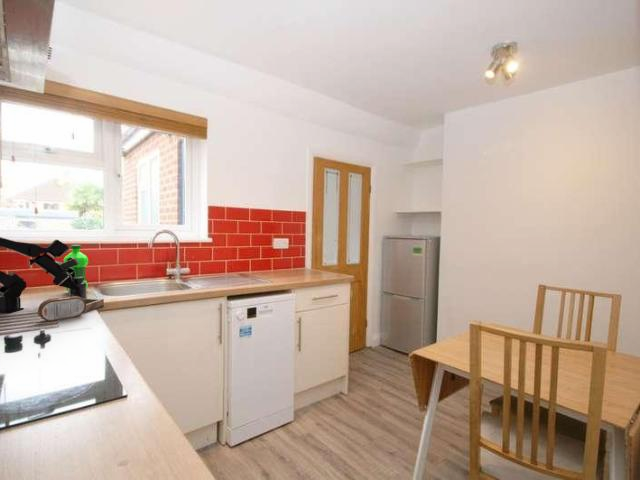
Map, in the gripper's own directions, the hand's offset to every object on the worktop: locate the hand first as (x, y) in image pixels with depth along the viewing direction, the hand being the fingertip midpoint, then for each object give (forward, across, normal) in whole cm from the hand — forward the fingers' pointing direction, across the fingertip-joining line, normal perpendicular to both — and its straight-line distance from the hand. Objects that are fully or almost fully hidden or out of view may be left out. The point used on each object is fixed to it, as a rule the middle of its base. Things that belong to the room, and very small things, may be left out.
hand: (80, 287), depth 155 cm
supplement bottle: (+4, 0, +6) cm, 7 cm away
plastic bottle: (+2, +24, +8) cm, 26 cm away
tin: (+3, -27, +7) cm, 28 cm away
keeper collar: (+6, -13, +4) cm, 15 cm away
